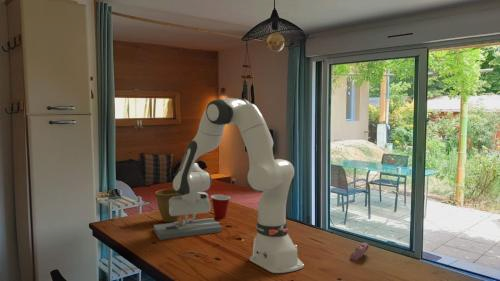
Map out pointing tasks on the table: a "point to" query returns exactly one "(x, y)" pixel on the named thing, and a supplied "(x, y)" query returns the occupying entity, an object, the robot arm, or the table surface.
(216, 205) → the plastic cup
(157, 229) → the hole board
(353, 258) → the pink plastic figure
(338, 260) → the table surface
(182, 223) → the ball
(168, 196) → the plant pot
